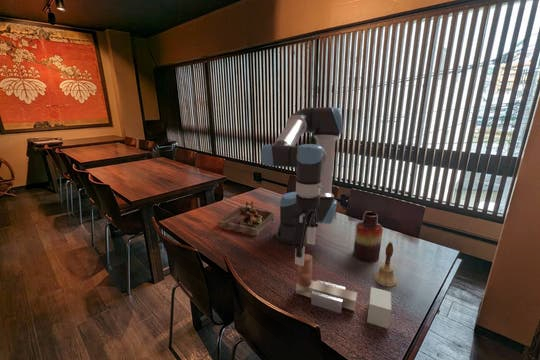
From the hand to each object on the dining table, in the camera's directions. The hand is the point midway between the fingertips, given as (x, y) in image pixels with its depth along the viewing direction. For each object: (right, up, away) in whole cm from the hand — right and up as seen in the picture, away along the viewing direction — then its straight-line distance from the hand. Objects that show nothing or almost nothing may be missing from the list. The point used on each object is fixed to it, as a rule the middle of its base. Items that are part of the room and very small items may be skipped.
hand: (305, 253), depth 85 cm
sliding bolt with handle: (+7, -16, +2) cm, 18 cm away
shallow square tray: (-25, 0, +59) cm, 64 cm away
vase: (+31, -9, +28) cm, 43 cm away
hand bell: (+33, -14, +12) cm, 38 cm away
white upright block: (+23, -19, -4) cm, 30 cm away
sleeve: (+8, -17, +2) cm, 19 cm away
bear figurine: (-22, 0, +59) cm, 63 cm away
